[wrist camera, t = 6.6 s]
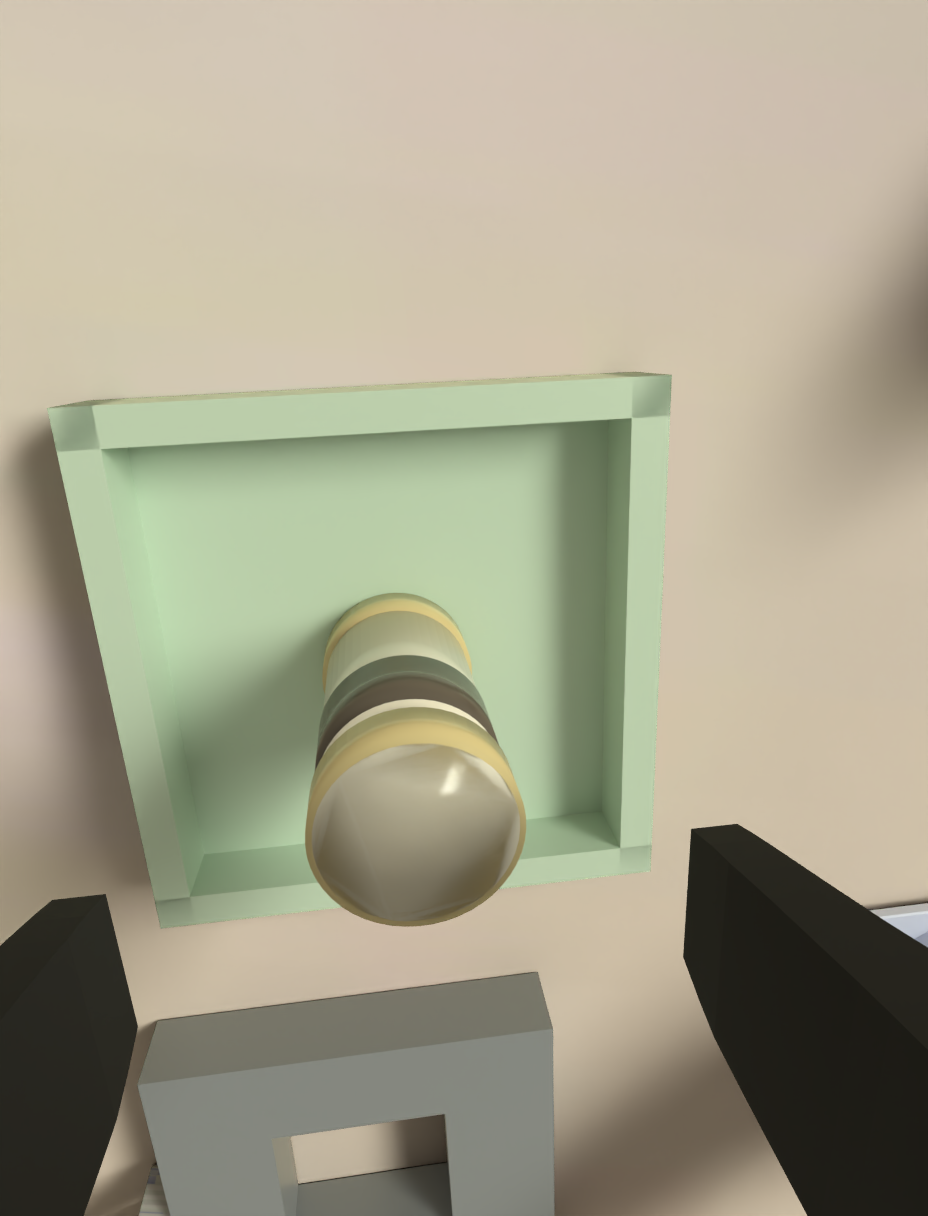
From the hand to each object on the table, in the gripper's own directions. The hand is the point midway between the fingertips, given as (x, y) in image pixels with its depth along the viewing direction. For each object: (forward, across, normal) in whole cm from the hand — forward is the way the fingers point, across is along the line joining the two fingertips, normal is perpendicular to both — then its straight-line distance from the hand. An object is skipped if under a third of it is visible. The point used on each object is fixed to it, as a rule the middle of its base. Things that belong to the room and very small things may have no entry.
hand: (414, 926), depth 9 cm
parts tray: (+10, 0, 0) cm, 10 cm away
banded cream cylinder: (+9, 0, 0) cm, 9 cm away
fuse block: (+10, +2, +20) cm, 22 cm away
